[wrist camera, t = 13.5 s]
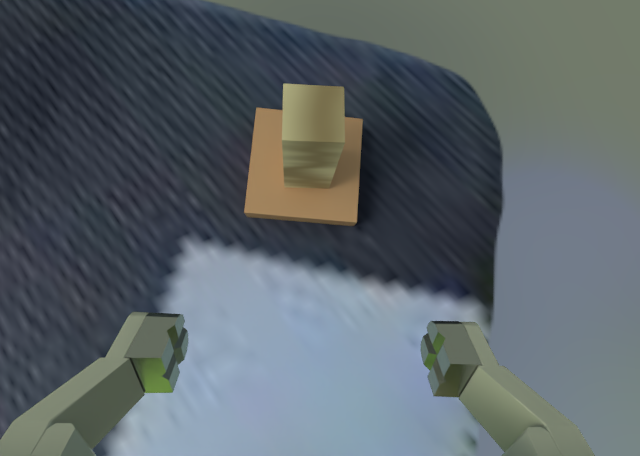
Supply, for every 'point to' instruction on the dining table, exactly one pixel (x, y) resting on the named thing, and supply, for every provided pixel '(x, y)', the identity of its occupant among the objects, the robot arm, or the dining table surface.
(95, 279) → the dining table surface
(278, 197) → the tile
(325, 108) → the post
